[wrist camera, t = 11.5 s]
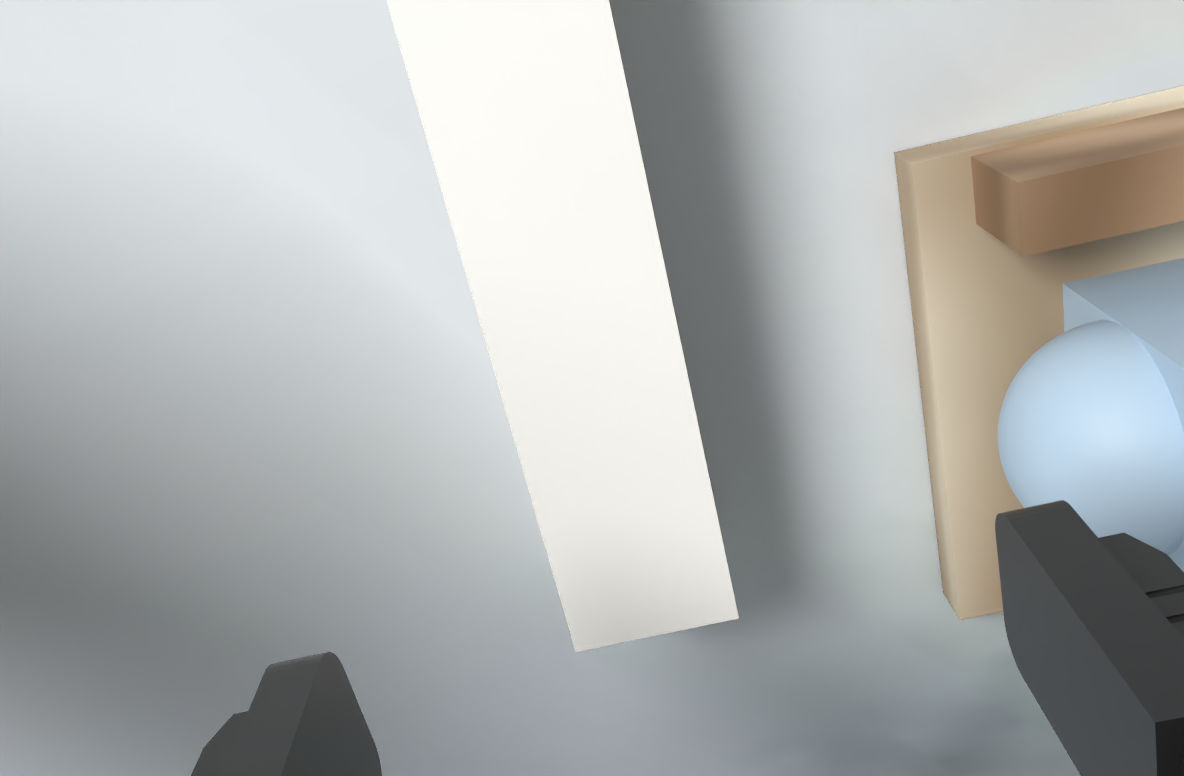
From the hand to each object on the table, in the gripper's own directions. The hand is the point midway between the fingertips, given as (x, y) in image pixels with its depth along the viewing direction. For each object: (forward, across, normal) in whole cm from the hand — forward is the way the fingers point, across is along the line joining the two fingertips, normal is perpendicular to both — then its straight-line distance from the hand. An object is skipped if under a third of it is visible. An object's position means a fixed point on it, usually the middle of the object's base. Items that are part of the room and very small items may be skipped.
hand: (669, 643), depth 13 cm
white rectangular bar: (+9, +1, -4) cm, 10 cm away
